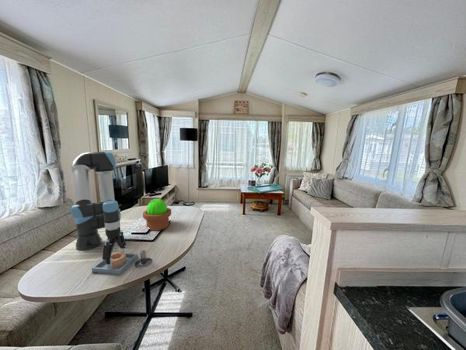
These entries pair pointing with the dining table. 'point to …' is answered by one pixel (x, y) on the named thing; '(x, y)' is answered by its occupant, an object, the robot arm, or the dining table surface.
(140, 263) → the dark grey rounded piece
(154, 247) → the dining table surface
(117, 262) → the tan round bowl
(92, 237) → the robot arm
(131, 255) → the tray
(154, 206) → the potted cactus
